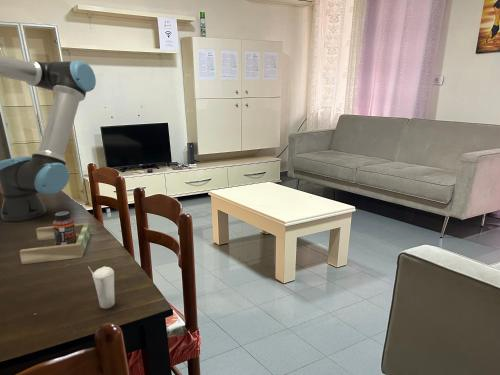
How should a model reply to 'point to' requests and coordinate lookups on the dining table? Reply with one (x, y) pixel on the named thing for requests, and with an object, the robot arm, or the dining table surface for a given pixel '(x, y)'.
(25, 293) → the dining table surface
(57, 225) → the supplement bottle
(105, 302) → the milkshake
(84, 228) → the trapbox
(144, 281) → the dining table surface
